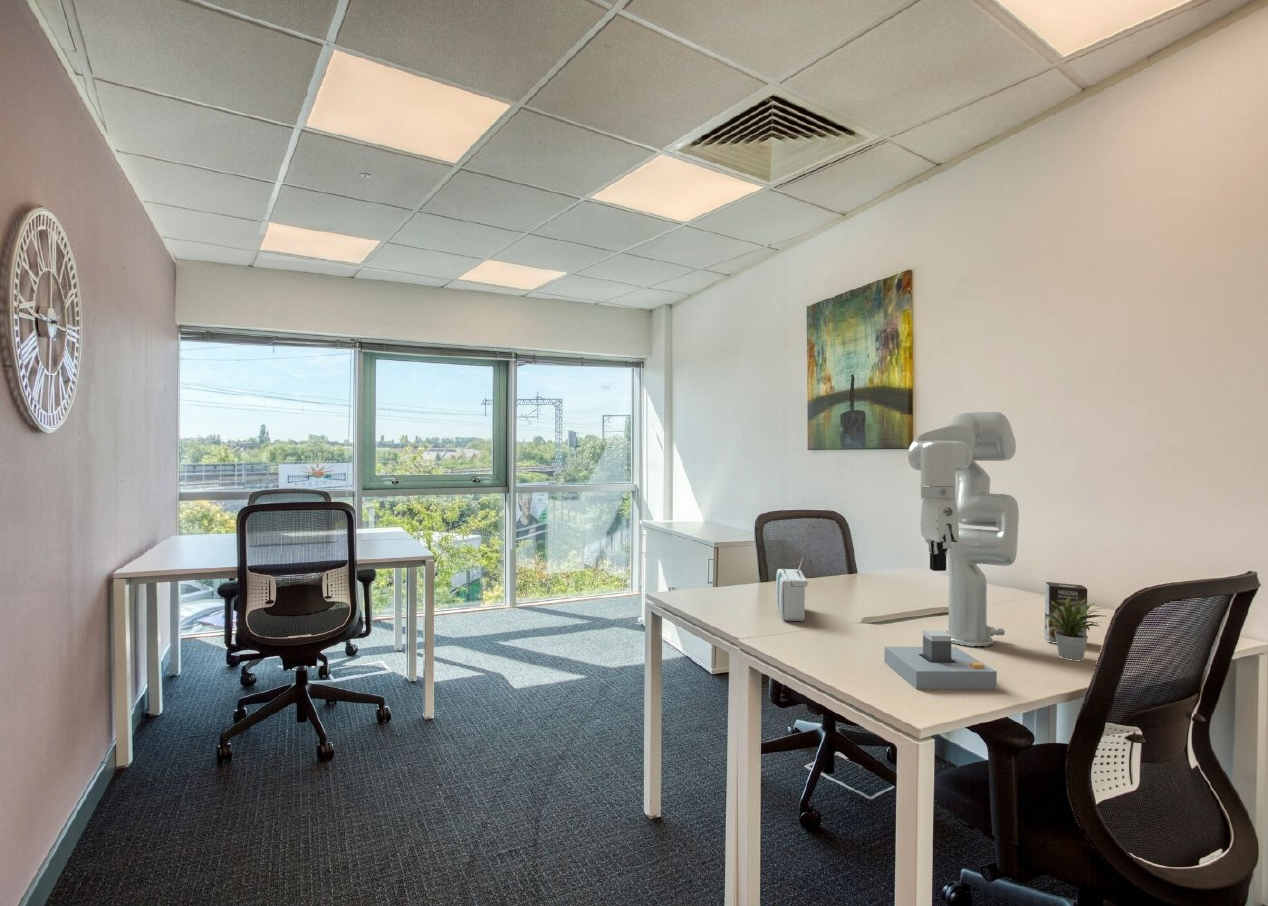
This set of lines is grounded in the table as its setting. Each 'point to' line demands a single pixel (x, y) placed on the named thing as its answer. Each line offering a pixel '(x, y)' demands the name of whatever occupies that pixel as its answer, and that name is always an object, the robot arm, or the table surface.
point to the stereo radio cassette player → (791, 593)
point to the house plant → (1072, 629)
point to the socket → (940, 670)
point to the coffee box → (1061, 594)
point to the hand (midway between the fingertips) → (938, 570)
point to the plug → (936, 647)
